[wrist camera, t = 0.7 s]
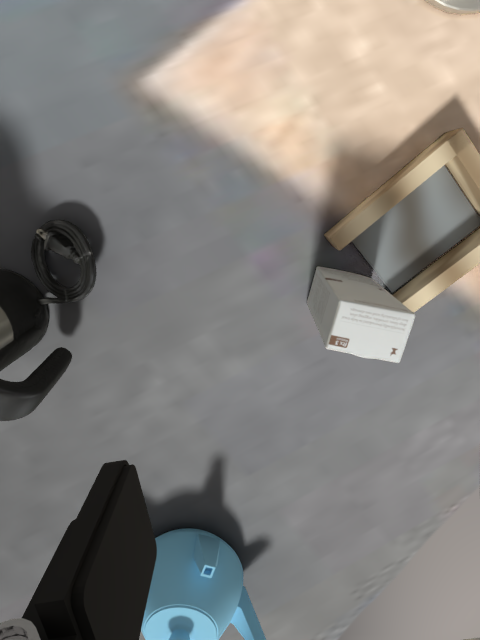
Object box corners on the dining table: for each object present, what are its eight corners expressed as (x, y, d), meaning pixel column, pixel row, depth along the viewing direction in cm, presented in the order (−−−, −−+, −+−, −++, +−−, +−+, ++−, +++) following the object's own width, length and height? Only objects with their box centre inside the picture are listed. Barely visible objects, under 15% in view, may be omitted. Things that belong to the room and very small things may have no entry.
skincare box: (372, 276, 41) (422, 310, 30) (359, 317, 42) (403, 365, 31) (313, 264, 41) (341, 294, 29) (302, 306, 42) (325, 351, 31)
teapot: (222, 500, 50) (217, 580, 40) (266, 583, 54) (272, 675, 44) (113, 536, 52) (81, 622, 42) (164, 614, 56) (147, 709, 46)
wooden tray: (445, 132, 37) (462, 127, 34) (506, 225, 39) (526, 228, 36) (323, 234, 40) (329, 238, 37) (387, 315, 42) (397, 324, 39)
